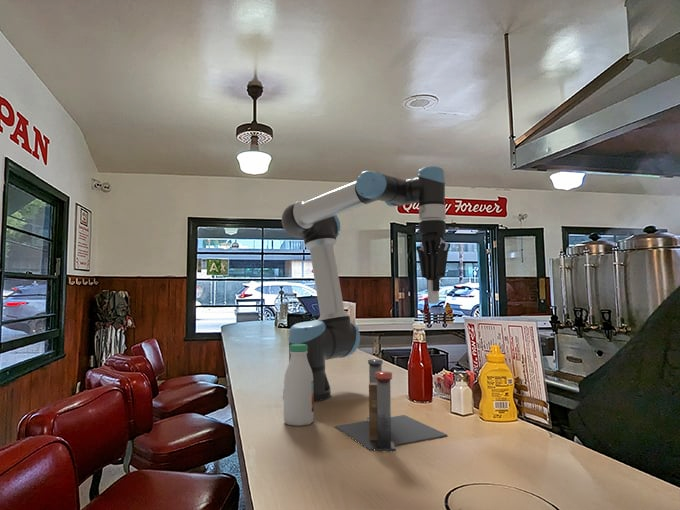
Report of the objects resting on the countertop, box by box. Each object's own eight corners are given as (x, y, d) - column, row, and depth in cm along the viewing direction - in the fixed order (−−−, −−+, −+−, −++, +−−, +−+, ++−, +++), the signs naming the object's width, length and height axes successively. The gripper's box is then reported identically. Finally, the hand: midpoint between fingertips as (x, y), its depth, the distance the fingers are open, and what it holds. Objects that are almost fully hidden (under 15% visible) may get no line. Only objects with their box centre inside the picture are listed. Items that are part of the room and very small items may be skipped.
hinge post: (366, 419, 120) (366, 359, 121) (383, 419, 120) (382, 358, 121) (368, 424, 115) (367, 361, 116) (385, 424, 115) (384, 361, 116)
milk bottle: (309, 427, 113) (309, 346, 114) (279, 425, 115) (280, 346, 116) (316, 418, 121) (316, 342, 122) (289, 416, 122) (289, 342, 123)
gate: (370, 421, 115) (370, 372, 116) (380, 421, 115) (380, 372, 116) (369, 440, 101) (368, 385, 102) (380, 441, 101) (379, 385, 102)
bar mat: (334, 427, 113) (334, 425, 113) (404, 416, 122) (404, 414, 122) (370, 450, 97) (370, 449, 97) (447, 436, 106) (447, 434, 106)
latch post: (373, 444, 101) (372, 371, 102) (392, 444, 101) (392, 370, 102) (375, 451, 97) (374, 375, 98) (395, 451, 97) (394, 374, 98)
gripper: (408, 222, 135) (409, 302, 133) (435, 217, 123) (437, 304, 121) (428, 224, 138) (430, 301, 136) (457, 218, 126) (459, 303, 125)
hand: (433, 302), depth 129 cm, fingers closed
